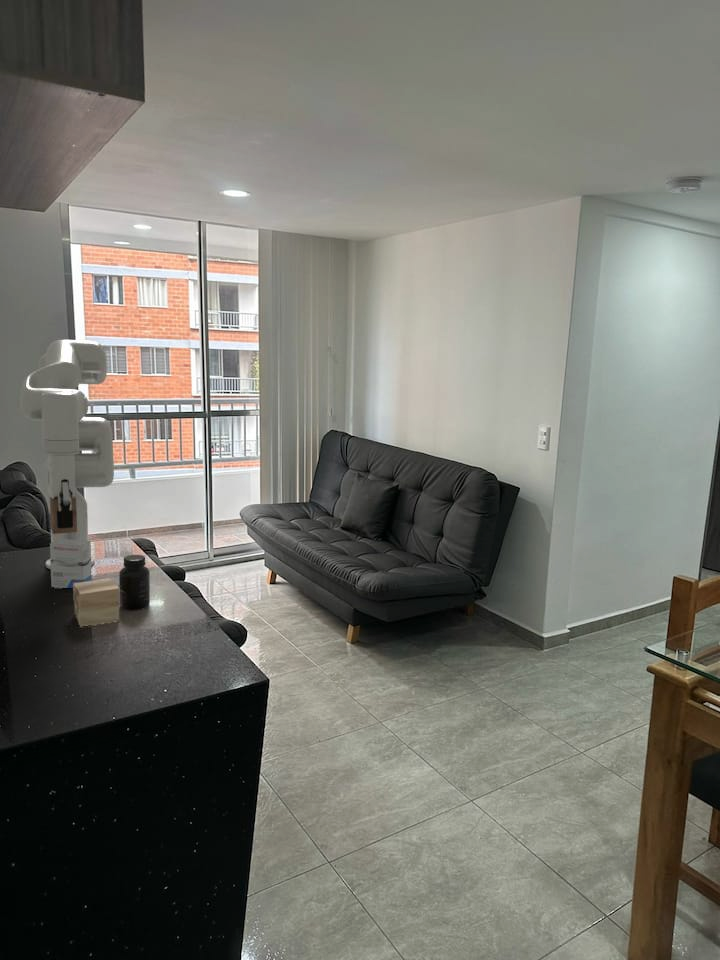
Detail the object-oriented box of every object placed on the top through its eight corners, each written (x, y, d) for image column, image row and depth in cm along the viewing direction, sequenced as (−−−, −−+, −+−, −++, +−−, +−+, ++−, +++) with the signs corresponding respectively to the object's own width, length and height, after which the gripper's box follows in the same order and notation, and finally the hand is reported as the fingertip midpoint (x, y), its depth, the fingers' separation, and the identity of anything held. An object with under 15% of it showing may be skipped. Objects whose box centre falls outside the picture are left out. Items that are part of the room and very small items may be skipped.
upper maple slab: (73, 600, 147) (72, 583, 146) (110, 594, 151) (110, 578, 151) (81, 611, 140) (80, 594, 140) (119, 605, 145) (119, 588, 144)
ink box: (92, 584, 169) (91, 540, 167) (82, 590, 164) (81, 545, 162) (61, 581, 170) (59, 538, 168) (50, 588, 165) (49, 542, 163)
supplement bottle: (113, 608, 153) (112, 559, 151) (130, 599, 159) (130, 551, 157) (139, 612, 151) (138, 562, 149) (155, 603, 158) (155, 555, 156)
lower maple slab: (75, 616, 148) (74, 599, 147) (112, 611, 152) (111, 594, 151) (80, 628, 141) (79, 611, 141) (119, 622, 145) (118, 605, 145)
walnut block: (50, 528, 152) (49, 494, 150) (74, 526, 154) (73, 493, 153) (53, 533, 147) (52, 499, 146) (77, 532, 150) (76, 498, 149)
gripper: (39, 442, 153) (42, 517, 156) (46, 452, 138) (49, 535, 142) (73, 441, 156) (76, 515, 160) (84, 451, 142) (86, 532, 145)
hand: (63, 523), depth 151 cm, fingers closed on walnut block, 5 cm apart
